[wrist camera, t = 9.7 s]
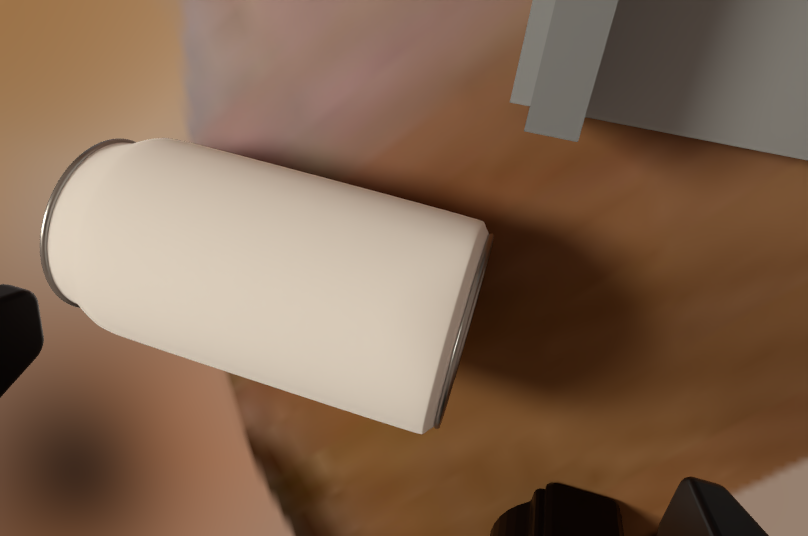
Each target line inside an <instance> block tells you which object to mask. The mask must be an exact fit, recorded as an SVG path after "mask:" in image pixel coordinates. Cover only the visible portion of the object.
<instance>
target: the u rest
mask: <svg viewBox="0 0 808 536" xmlns="http://www.w3.org/2000/svg"><path fill="white" fill-rule="evenodd" d="M510 103H516V104H521V105H526V106H530V109H529V113H528V117H527V121H526V125H525V129H524V131H526V132H531V133H536V134H541V135H546V136H551V137H556V138H561V139H565V140H570V141H575V142H578V139H579V136H580V132H581V129H582V125H583V122H584V118H585V117H587V118H593V119H598V120H603V121H608V122H613V123H618V124H623V125H628V126H634V127H639V128H644V129H649V130H654V131H659V132H664V133H670V134H675V135H680V136H685V137H690V138H695V139H700V140H705V141H711V142H716V143H721V144H726V145H731V146H736V147H741V148H746V149H752V150H757V151H762V152H767V153H772V154H777V155H782V156H788V157H793V158H798V159H803V160H808V0H533V2H532V7H531V11H530V15H529V20H528V24H527V29H526V33H525V38H524V42H523V46H522V51H521V55H520V60H519V64H518V69H517V73H516V77H515V82H514V86H513V91H512V95H511V100H510Z"/></svg>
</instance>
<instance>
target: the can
mask: <svg viewBox="0 0 808 536" xmlns="http://www.w3.org/2000/svg"><path fill="white" fill-rule="evenodd" d="M493 240H494V234H492V233H490V234H489V232H488V230H487V228H486V226H485V223H484V222H483V221H481V220H478V219H475V218H471V217H468V216H464V215H461V214H457V213H454V212H450V211H447V210H443V209H439V208H436V207H432V206H428V205H425V204H421V203H417V202H414V201H410V200H406V199H402V198H399V197H395V196H391V195H388V194H384V193H380V192H376V191H373V190H369V189H365V188H362V187H358V186H354V185H350V184H347V183H343V182H339V181H335V180H332V179H328V178H324V177H320V176H317V175H313V174H309V173H305V172H301V171H298V170H294V169H290V168H286V167H283V166H279V165H275V164H271V163H268V162H264V161H260V160H256V159H252V158H248V157H245V156H241V155H237V154H233V153H229V152H226V151H222V150H218V149H214V148H210V147H206V146H202V145H198V144H194V143H190V142H186V141H181V140H177V139H169V138H155V139H149V140H144V141H140V142H134V141H131V140H128V139H111V140H107V141H103V142H100V143H98V144H96V145H94V146H92V147H91V148H89V149H88V150H86V151H85V152H83V153H82V154H81V155H80V156H79V157H77V158H76V159H75V160H74V161H73V163H72V164H71V165H70V166H69V167H68V168H67V170H66V171H65V172H64V173H63V175H62V176H61V178H60V180H59V181H58V183H57V185H56V186H55V188H54V190H53V193H52V194H51V197H50V199H49V201H48V204H47V207H46V210H45V214H44V217H43V222H42V227H41V234H40V257H41V264H42V268H43V271H44V274H45V277H46V280H47V282H48V284H49V286H50V287H51V289H52V290H53V292H54V293H55V294H56V295H57V296H58V297H59V298H60V299H61V300H63V301H64V302H66V303H68V304H70V305H72V306H75V307H79V308H81V309H82V310H83V311H84V312H85V313H86V314H87V315H88V316H89V317H90V319H92V320H93V321H94V322H95V323H96V324H97V325H99V326H100V327H102V328H103V329H105V330H108V331H110V332H112V333H114V334H117V335H120V336H122V337H125V338H128V339H131V340H134V341H137V342H140V343H142V344H145V345H148V346H152V347H154V348H157V349H160V350H163V351H166V352H170V353H172V354H175V355H178V356H181V357H184V358H187V359H190V360H193V361H196V362H200V363H202V364H205V365H208V366H211V367H214V368H218V369H220V370H223V371H226V372H229V373H232V374H236V375H239V376H242V377H245V378H248V379H251V380H254V381H257V382H260V383H263V384H266V385H269V386H272V387H275V388H278V389H281V390H284V391H287V392H290V393H293V394H296V395H299V396H303V397H306V398H309V399H312V400H315V401H318V402H321V403H324V404H327V405H330V406H333V407H336V408H339V409H342V410H345V411H349V412H352V413H355V414H358V415H361V416H364V417H367V418H370V419H373V420H376V421H380V422H383V423H386V424H389V425H392V426H395V427H398V428H402V429H405V430H408V431H412V432H415V433H419V434H424V433H425V432H426V431H428V430H429V429H431V428H433V426H434V427H435V428H436V429H438V428H439V427H440V425H441V422H442V419H443V416H444V413H445V410H446V406H447V403H448V400H449V396H450V393H451V390H452V386H453V383H454V380H455V376H456V373H457V369H458V366H459V363H460V359H461V356H462V352H463V349H464V345H465V342H466V338H467V335H468V331H469V328H470V324H471V321H472V317H473V314H474V310H475V307H476V303H477V300H478V296H479V292H480V289H481V285H482V282H483V278H484V274H485V271H486V267H487V263H488V260H489V256H490V252H491V248H492V244H493Z"/></svg>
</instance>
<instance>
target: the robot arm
mask: <svg viewBox="0 0 808 536" xmlns="http://www.w3.org/2000/svg"><path fill="white" fill-rule="evenodd" d="M43 337H44V336H43V330H42V324H41V318H40V312H39V305H38V300H37V298H36V296H35V295H34V293H32V292H31V291H29V290H26V289H22V288H19V287H15V286H12V285H4V284H2V285H0V397H1V396H2V395H3V394H4V393H5V392H6V391H7V390H8V388H9V387H10V386H11V385H12V384H13V383H14V382H15V381H16V380H17V378H18V377H19V376H20V375H21V374H22V373H23V372H24V370H25V369H26V368H27V367H28V366H29V365H30V364H31V363H32V362H33V361H34V359H35V358H36V357H37V356H38V355H39V353H40V351H41V349H42V346H43V341H44V338H43ZM490 536H624V533H623V524H622V516H621V514H620V508H619V506H618V504H617V503H616V502H615V501H613V500H610V499H606V498H603V497H600V496H596V495H593V494H589V493H586V492H583V491H579V490H576V489H572V488H569V487H566V486H562V485H559V484H555V483H549V484H547V486H546V489H537V490H536V491H535V492H534V495H533V497H532V500H531V501H529V502H527V503H524V504H520V505H517V506H515V507H513V508H511V509H509V510H508V511H506V512H505V513H504V514H503V515H501V516H500V517H499V518H498V520H497V521H496V522H495V523H494V526H493V528H492V530H491V533H490ZM649 536H768V534H767V533H766V532H765V531H764V530H763V529H762V528H761V527H760V526H759V525H758V523H757V522H756V521H755V520H754V519H753V518H752V517H751V516H750V515H749V514H748V512H747V511H746V510H745V509H744V508H743V507H742V506H741V505H740V504H739V503H738V501H737V500H736V499H735V498H734V497H733V496H732V495H731V494H730V493H729V491H727V490H726V489H725V488H724V487H723V486H721V485H719V484H716V483H712V482H709V481H705V480H702V479H698V478H695V477H687V478H684V479H683V480H682V481H681V482H680V484H679V486H678V488H677V490H676V492H675V494H674V496H673V498H672V500H671V502H670V504H669V506H668V508H667V510H666V512H665V514H664V516H663V518H662V520H661V522H660V525H659V528H658V531H657V532H655V533H652V534H650V535H649Z"/></svg>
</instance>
